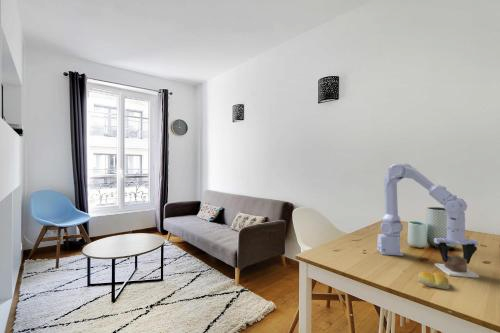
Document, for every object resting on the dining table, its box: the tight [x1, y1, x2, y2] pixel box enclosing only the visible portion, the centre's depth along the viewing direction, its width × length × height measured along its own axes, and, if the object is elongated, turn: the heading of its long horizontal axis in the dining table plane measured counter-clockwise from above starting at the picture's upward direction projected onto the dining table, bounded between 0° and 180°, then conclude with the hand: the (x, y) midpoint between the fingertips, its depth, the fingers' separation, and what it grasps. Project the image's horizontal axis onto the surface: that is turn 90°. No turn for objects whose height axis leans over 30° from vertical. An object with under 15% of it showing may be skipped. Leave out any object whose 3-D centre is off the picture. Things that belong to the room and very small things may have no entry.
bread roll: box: [417, 270, 450, 290], centre depth 88 cm, size 8×9×4 cm
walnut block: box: [444, 254, 468, 272], centre depth 98 cm, size 5×5×5 cm
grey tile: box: [434, 262, 480, 279], centre depth 98 cm, size 10×10×1 cm
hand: (455, 262), depth 98 cm, fingers open, 7 cm apart
